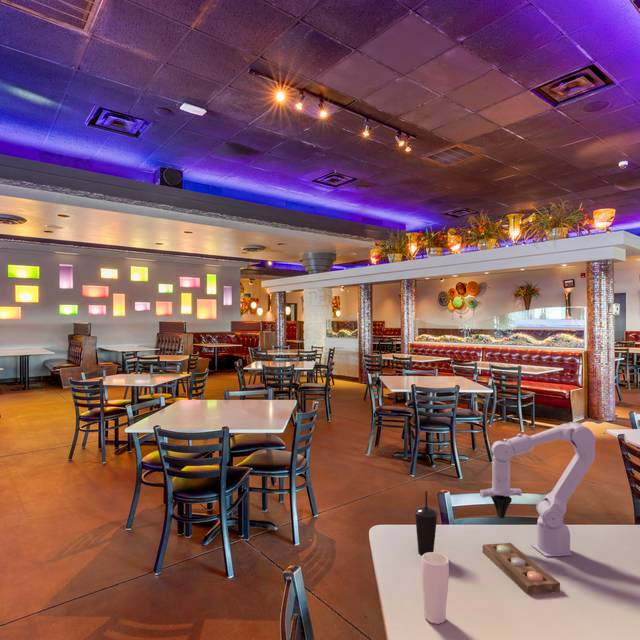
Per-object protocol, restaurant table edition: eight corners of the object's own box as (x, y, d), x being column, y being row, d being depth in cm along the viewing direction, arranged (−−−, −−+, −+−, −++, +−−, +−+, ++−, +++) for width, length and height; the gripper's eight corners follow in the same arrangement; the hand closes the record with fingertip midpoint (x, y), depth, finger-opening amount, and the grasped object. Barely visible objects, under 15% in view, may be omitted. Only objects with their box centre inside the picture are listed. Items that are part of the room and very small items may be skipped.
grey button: (520, 565, 138) (520, 556, 139) (528, 572, 134) (528, 563, 135) (508, 566, 138) (508, 557, 138) (516, 573, 134) (516, 564, 134)
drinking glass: (417, 610, 116) (418, 552, 116) (442, 609, 116) (443, 551, 117) (425, 627, 109) (426, 565, 109) (452, 626, 110) (453, 564, 110)
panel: (510, 550, 149) (510, 542, 149) (560, 592, 125) (560, 582, 125) (482, 552, 147) (482, 544, 147) (527, 594, 123) (527, 585, 124)
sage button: (505, 552, 146) (505, 544, 146) (512, 558, 142) (512, 550, 142) (494, 553, 146) (494, 545, 146) (501, 559, 142) (501, 551, 142)
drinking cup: (422, 545, 151) (422, 485, 152) (442, 553, 146) (442, 491, 147) (409, 552, 146) (409, 491, 147) (429, 561, 141) (430, 497, 141)
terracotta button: (536, 579, 131) (536, 570, 131) (545, 587, 127) (545, 578, 127) (524, 580, 130) (524, 571, 130) (532, 588, 126) (533, 579, 126)
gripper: (487, 481, 148) (487, 523, 148) (527, 480, 150) (527, 520, 150) (477, 475, 155) (476, 514, 155) (515, 473, 157) (514, 512, 157)
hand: (500, 517), depth 153 cm, fingers closed
